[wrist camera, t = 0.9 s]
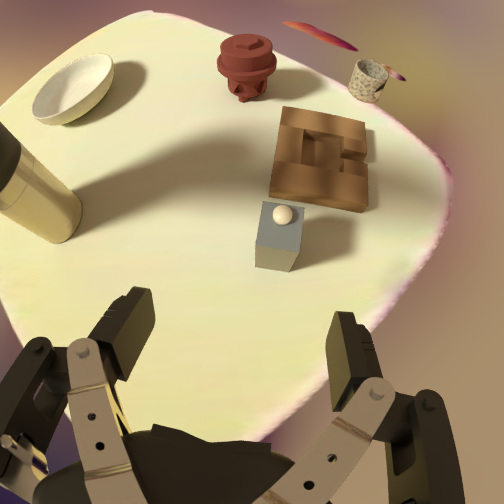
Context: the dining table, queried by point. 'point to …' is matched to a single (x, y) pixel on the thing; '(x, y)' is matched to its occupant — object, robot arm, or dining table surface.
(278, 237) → the block
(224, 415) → the dining table surface
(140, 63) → the dining table surface
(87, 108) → the serving bowl
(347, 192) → the plate
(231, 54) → the mechanical component
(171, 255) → the dining table surface
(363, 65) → the mug
